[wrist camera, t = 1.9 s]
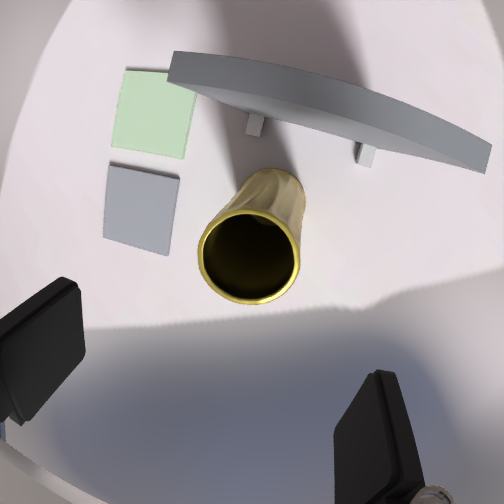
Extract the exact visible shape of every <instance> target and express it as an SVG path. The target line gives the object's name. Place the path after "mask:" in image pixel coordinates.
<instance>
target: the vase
mask: <svg viewBox="0 0 504 504" xmlns="http://www.w3.org/2000/svg"><path fill="white" fill-rule="evenodd" d="M305 204H306V201H305V194H304V191H303V188H302V186H301V185H300V183H299V182H298V181H297V180H296V179H295V178H294V177H293V176H292V175H291V174H289V173H287V172H285V171H282V170H279V169H264V170H261V171H258V172H256V173H254V174H253V175H251V176H250V177H249V178H248V179H247V180H246V181H245V182H244V183H243V185H242V187H241V190H240V191H238V192H237V193H236V195H235V196H234V197H233V198H232V199H231V201H230V202H229V203H228V204H227V205H226V206H225V207H224V208H223V209H222V210H221V211H220V212H219V213H218V214H217V215H216V216H215V217H214V219H213V220H212V221H211V222H210V223H209V224H208V226H207V227H206V229H205V231H204V233H203V234H202V236H201V238H200V240H199V244H198V265H199V270H200V272H201V274H202V276H203V278H204V280H205V281H206V282H207V284H208V285H209V286H210V287H211V288H212V289H213V290H214V291H215V292H216V293H218V294H219V295H221V296H222V297H224V298H226V299H228V300H230V301H232V302H235V303H239V304H247V305H259V304H263V303H268V302H271V301H273V300H275V299H277V298H278V297H280V296H282V295H283V294H284V293H285V292H287V291H288V290H289V288H290V287H291V286H292V284H293V283H294V281H295V280H296V278H297V276H298V273H299V270H300V246H301V229H302V220H303V214H304V211H305Z"/></svg>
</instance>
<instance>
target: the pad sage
mask: <svg viewBox="0 0 504 504" xmlns="http://www.w3.org/2000/svg"><path fill="white" fill-rule="evenodd" d="M167 77H168V73H158V72H143V71H125V74H124V78H123V83H122V87H121V92H120V97H119V102H118V107H117V113H116V119H115V125H114V131H113V137H112V144H111V147H115V148H122V149H128V150H133V151H139V152H145V153H150V154H156V155H161V156H167V157H172V158H177V159H184V154H185V149H186V144H187V139H188V134H189V129H190V124H191V119H192V114H193V110H194V105H195V101H196V96H197V92H194V91H191V90H189V89H186V88H183V87H180V86H178V85H175V84H172V83H169V82H166V81H167Z"/></svg>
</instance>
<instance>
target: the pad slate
mask: <svg viewBox="0 0 504 504" xmlns="http://www.w3.org/2000/svg"><path fill="white" fill-rule="evenodd" d="M179 182H180V179H176V178H172V177H167V176H162V175H158V174H153V173H148V172H143V171H138V170H133V169H128V168H123V167H118V166H113V165H110V166H109V167H108V176H107V186H106V197H105V210H104V226H103V238H107V239H110V240H113V241H117V242H120V243H123V244H127V245H130V246H133V247H137V248H140V249H143V250H147V251H150V252H154V253H157V254H161V255H164V256H168V255H169V250H170V242H171V234H172V227H173V220H174V214H175V207H176V201H177V194H178V188H179Z"/></svg>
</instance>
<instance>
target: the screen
mask: <svg viewBox="0 0 504 504" xmlns="http://www.w3.org/2000/svg"><path fill="white" fill-rule="evenodd" d="M166 82H169V83H172V84H175V85H178V86H180V87H183V88H186V89H189V90H191V91H194V92H197V93H199V94H202V95H205V96H207V97H210V98H212V99H215V100H217V101H220V102H222V103H225V104H227V105H230V106H232V107H235V108H237V109H239V110H242V111H244V112H246V113H250V114H249V118H248V122H247V127H246V131H245V134H248V135H252V136H257V137H260V135H261V131H262V127H263V123H264V118H265V117H268V118H273V119H277V120H281V121H285V122H289V123H293V124H297V125H301V126H305V127H309V128H313V129H316V130H320V131H323V132H327V133H330V134H334V135H337V136H340V137H344V138H347V139H350V140H353V141H356V142H360V143H361V145H360V149H359V152H358V156H357V160H356V163H357V164H359V165H362V166H366V167H369V168H371V166H372V162H373V159H374V155H375V151H376V148H378V149H383V150H388V151H393V152H398V153H403V154H408V155H413V156H417V157H422V158H426V159H430V160H434V161H439V162H443V163H447V164H450V165H454V166H458V167H462V168H465V169H469V170H473V171H476V172H480V173H483V174H485V171H486V167H487V164H488V160H489V156H490V151H491V147H492V144H490V143H488V142H486V141H485V140H483V139H481V138H479V137H477V136H475V135H474V134H472V133H470V132H468V131H466V130H464V129H462V128H460V127H458V126H456V125H454V124H452V123H450V122H448V121H445V120H443V119H441V118H439V117H437V116H435V115H432V114H430V113H428V112H426V111H423V110H421V109H419V108H416V107H414V106H411V105H409V104H406V103H404V102H401V101H399V100H396V99H394V98H391V97H388V96H385V95H383V94H380V93H377V92H374V91H371V90H368V89H365V88H362V87H359V86H356V85H353V84H350V83H347V82H343V81H340V80H337V79H333V78H330V77H326V76H322V75H318V74H315V73H311V72H307V71H303V70H298V69H294V68H290V67H285V66H280V65H276V64H271V63H265V62H260V61H254V60H249V59H242V58H236V57H229V56H222V55H214V54H205V53H195V52H183V51H174V53H173V57H172V61H171V65H170V69H169V73H168V77H167V81H166Z"/></svg>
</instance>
